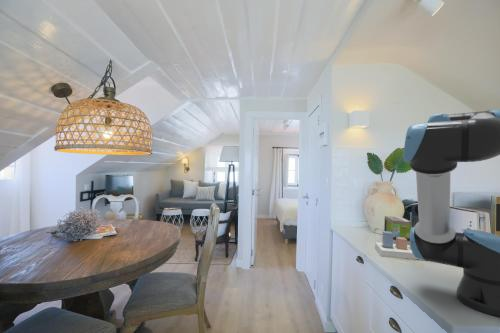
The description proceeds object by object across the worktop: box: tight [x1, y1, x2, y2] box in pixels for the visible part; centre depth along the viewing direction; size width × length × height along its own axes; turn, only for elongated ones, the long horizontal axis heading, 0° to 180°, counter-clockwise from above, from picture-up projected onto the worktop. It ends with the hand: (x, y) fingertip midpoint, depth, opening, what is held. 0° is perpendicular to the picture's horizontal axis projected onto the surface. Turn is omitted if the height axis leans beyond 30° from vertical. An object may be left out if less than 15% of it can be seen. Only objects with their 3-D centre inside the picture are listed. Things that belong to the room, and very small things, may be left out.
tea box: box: [383, 215, 412, 245], centre depth 147 cm, size 15×10×15 cm, turn 168°
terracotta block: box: [396, 237, 407, 250], centre depth 128 cm, size 4×4×7 cm
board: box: [374, 241, 423, 261], centre depth 128 cm, size 14×22×3 cm, turn 75°
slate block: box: [381, 230, 393, 247], centre depth 129 cm, size 4×4×7 cm
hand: (438, 203), depth 108 cm, fingers closed
